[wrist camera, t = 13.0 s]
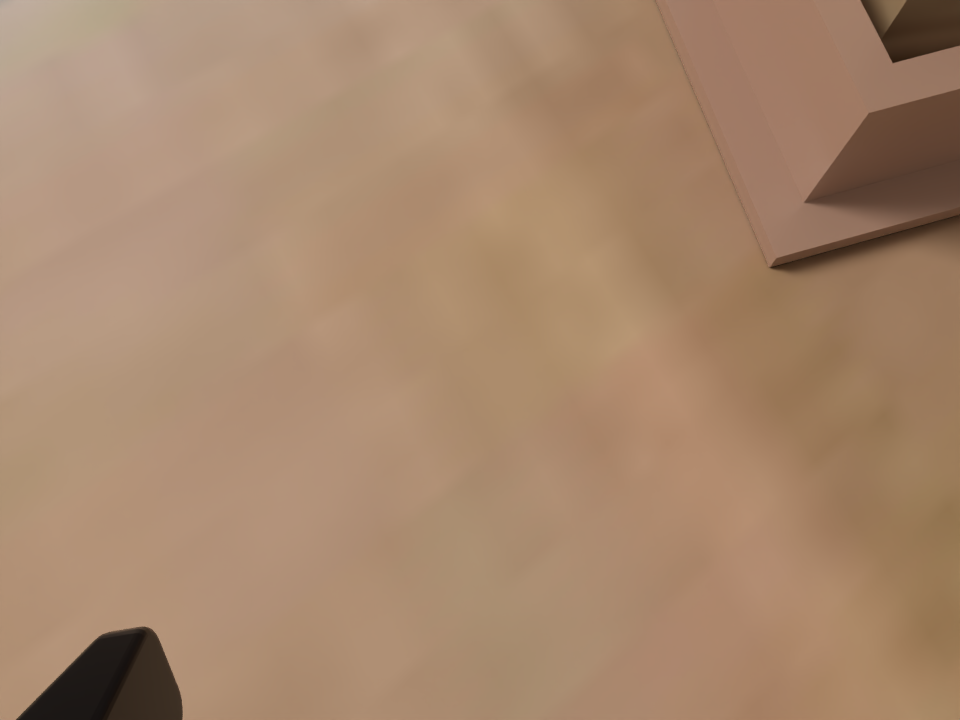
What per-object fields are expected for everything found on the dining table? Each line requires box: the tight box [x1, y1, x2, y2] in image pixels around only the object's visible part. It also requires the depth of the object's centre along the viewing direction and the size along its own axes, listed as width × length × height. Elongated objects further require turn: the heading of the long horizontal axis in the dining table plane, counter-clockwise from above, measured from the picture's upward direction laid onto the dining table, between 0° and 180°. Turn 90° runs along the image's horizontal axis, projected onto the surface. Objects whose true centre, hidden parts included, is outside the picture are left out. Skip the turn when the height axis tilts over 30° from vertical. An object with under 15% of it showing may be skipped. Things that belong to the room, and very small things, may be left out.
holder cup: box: [656, 0, 960, 267], centre depth 22 cm, size 10×10×5 cm
